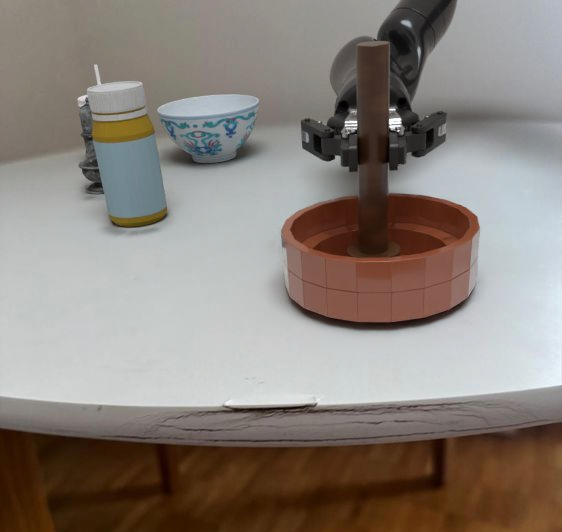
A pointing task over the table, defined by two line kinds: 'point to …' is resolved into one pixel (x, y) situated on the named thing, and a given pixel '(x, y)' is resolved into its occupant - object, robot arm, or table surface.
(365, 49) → the stirring stick
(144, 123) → the bottle
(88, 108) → the grey tall piece
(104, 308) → the table surface
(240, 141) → the chinaware
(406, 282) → the bowl
